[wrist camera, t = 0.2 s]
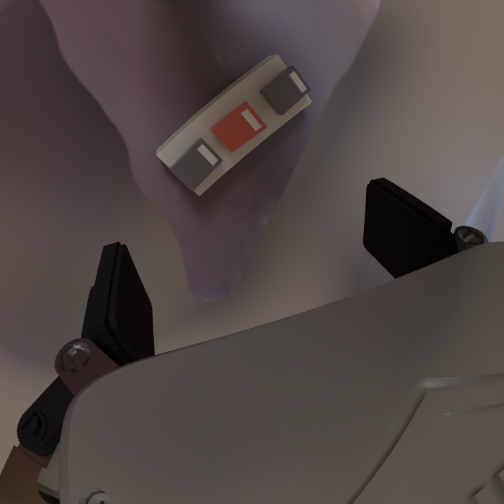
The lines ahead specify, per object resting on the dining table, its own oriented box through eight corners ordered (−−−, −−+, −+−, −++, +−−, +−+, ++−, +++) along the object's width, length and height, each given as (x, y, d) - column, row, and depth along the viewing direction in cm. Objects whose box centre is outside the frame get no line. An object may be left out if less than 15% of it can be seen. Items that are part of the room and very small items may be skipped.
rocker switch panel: (156, 149, 42) (156, 156, 38) (269, 55, 38) (279, 54, 35) (196, 187, 47) (199, 198, 44) (302, 99, 43) (314, 102, 40)
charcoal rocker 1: (168, 169, 39) (170, 171, 38) (199, 137, 39) (202, 138, 38) (190, 190, 42) (192, 192, 40) (219, 159, 42) (223, 160, 40)
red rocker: (211, 127, 39) (210, 130, 37) (246, 100, 37) (247, 103, 36) (231, 149, 41) (231, 153, 40) (265, 124, 39) (267, 127, 38)
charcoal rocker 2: (258, 91, 36) (263, 90, 35) (288, 67, 36) (293, 65, 35) (277, 115, 39) (283, 115, 38) (305, 90, 39) (311, 90, 38)
